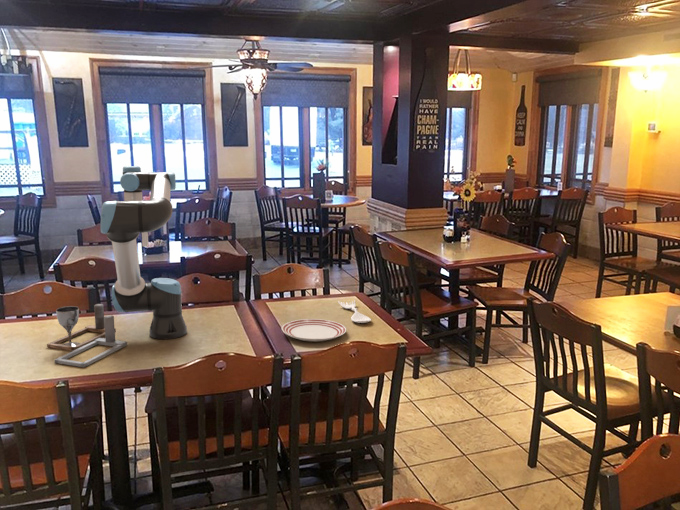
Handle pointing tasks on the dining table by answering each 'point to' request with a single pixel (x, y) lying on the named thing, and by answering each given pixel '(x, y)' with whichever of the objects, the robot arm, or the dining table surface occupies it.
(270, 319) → the dining table surface
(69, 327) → the wine glass
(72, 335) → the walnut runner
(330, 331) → the dinner plate
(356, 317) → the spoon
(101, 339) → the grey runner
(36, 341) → the dining table surface
